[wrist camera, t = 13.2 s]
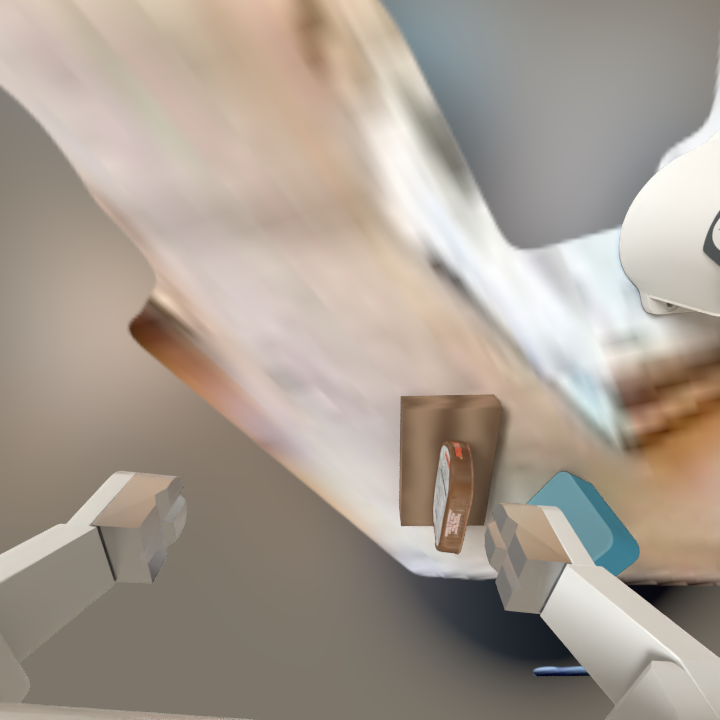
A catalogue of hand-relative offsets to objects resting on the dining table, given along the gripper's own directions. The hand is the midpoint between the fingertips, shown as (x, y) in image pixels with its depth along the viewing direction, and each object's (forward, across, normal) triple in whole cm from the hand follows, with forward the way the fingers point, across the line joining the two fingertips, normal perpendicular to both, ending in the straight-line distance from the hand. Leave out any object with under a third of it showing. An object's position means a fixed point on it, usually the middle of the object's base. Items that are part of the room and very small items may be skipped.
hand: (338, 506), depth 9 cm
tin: (+30, -13, +25) cm, 41 cm away
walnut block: (+34, -14, +25) cm, 44 cm away
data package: (+33, -31, +31) cm, 55 cm away
